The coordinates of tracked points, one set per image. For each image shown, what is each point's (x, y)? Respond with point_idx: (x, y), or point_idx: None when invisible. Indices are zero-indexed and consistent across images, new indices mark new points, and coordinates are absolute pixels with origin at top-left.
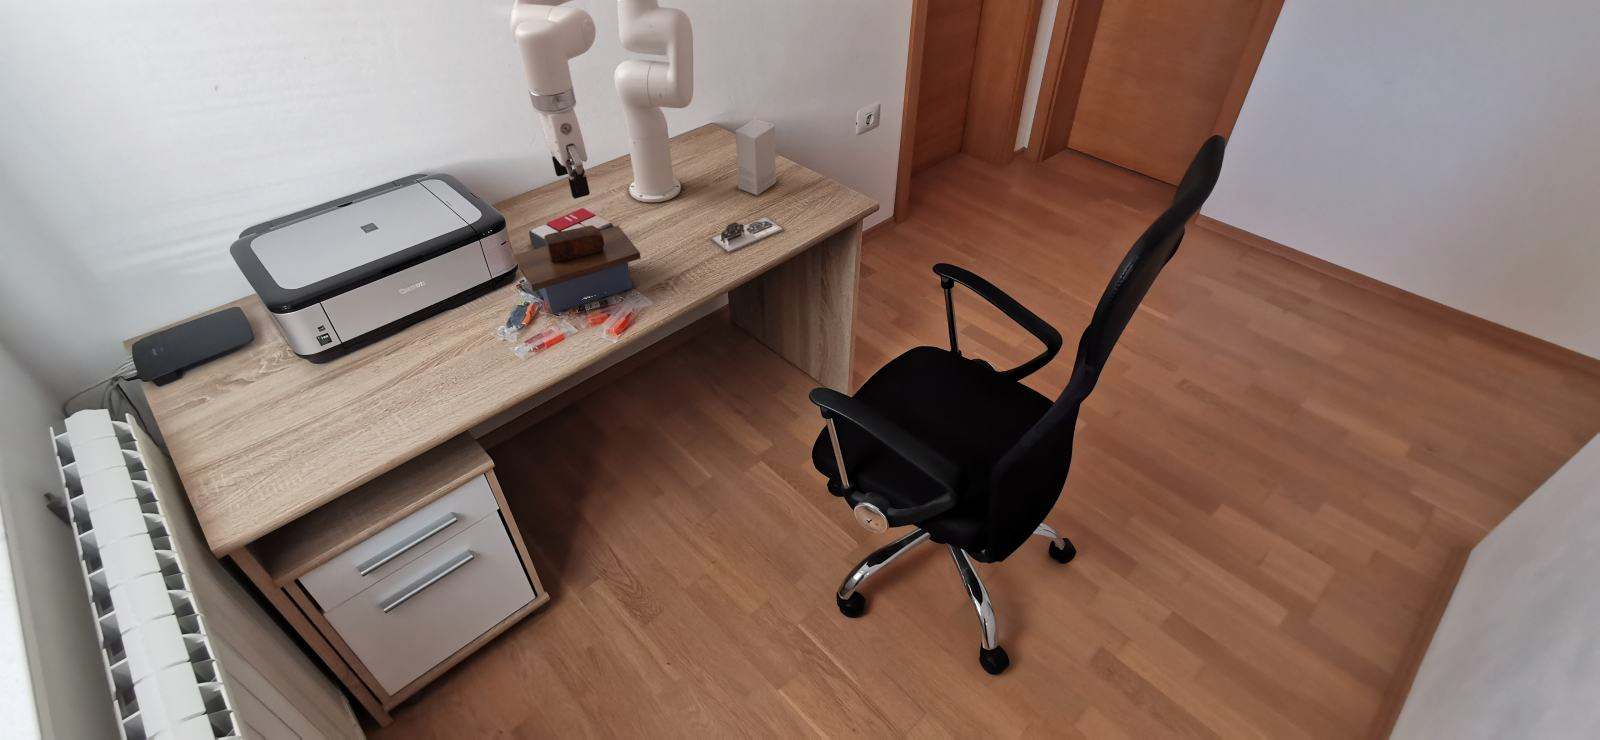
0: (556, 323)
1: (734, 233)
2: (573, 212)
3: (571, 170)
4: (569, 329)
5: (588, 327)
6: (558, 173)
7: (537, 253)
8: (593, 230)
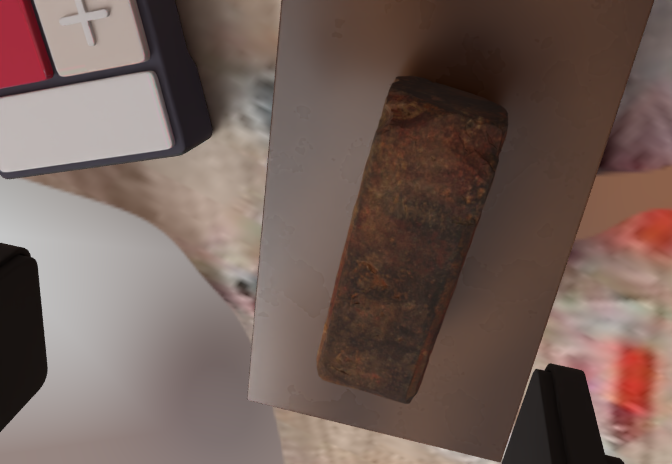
0: (551, 329)
1: None
2: None
3: (20, 273)
4: (618, 318)
5: (666, 268)
6: (30, 389)
7: (293, 336)
8: (449, 161)
